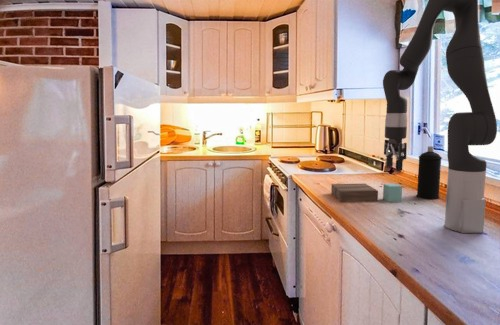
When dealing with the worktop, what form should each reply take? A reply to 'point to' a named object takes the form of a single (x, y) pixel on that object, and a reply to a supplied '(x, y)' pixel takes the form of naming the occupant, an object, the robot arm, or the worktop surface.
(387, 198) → the teal block
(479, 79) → the robot arm
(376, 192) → the stacking base
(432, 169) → the aerosol can
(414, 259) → the worktop surface
